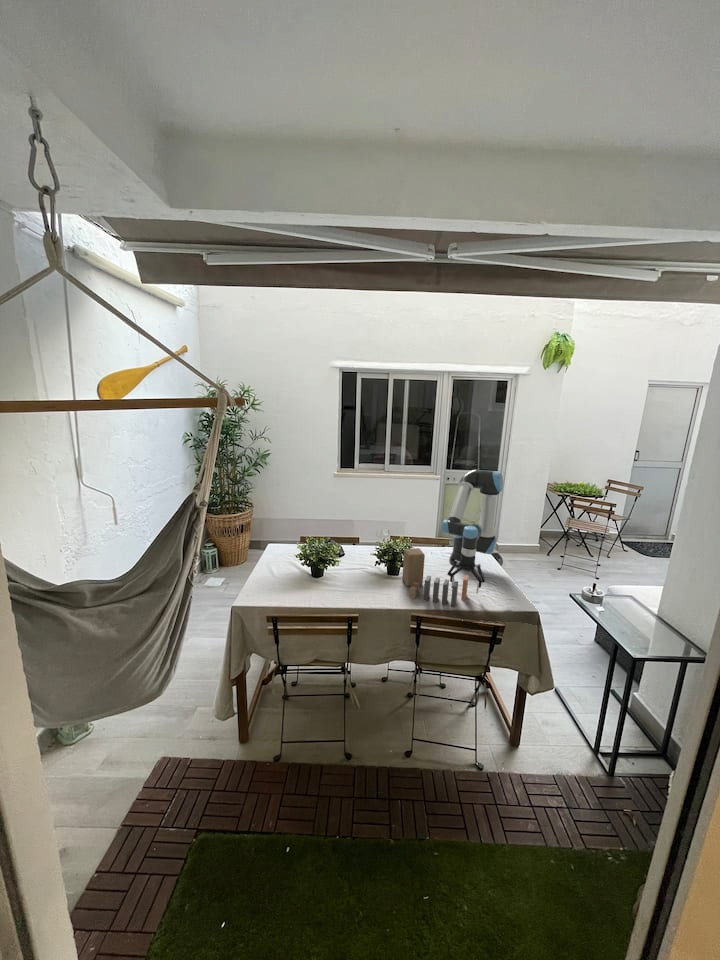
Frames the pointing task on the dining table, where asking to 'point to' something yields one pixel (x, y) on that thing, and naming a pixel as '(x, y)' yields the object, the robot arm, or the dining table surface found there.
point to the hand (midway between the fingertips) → (464, 589)
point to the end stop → (414, 590)
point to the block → (413, 566)
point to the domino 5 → (464, 587)
